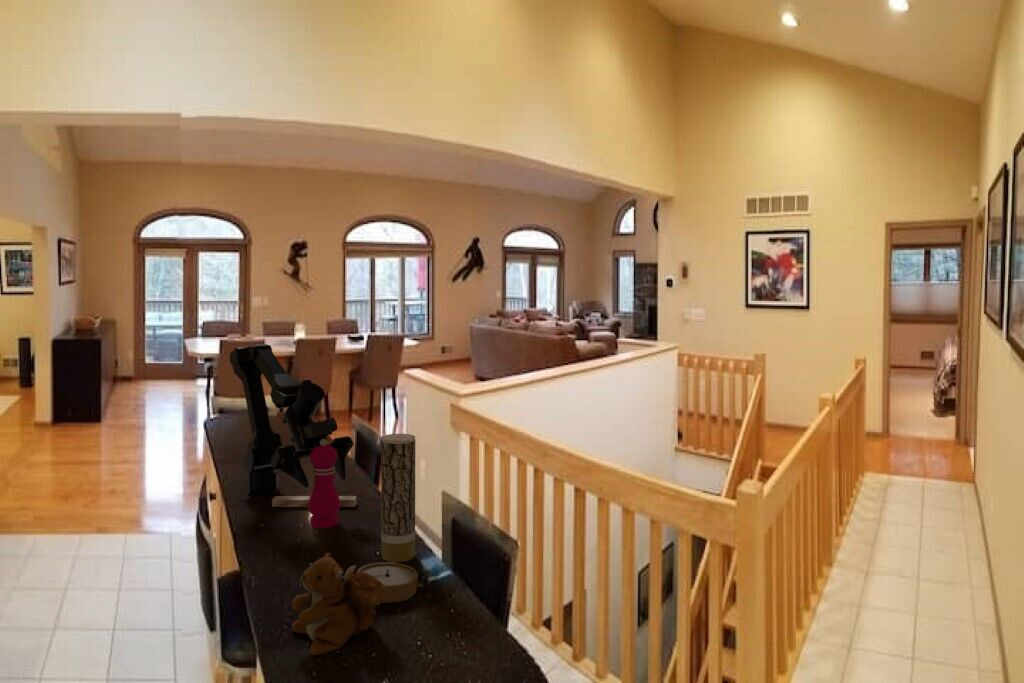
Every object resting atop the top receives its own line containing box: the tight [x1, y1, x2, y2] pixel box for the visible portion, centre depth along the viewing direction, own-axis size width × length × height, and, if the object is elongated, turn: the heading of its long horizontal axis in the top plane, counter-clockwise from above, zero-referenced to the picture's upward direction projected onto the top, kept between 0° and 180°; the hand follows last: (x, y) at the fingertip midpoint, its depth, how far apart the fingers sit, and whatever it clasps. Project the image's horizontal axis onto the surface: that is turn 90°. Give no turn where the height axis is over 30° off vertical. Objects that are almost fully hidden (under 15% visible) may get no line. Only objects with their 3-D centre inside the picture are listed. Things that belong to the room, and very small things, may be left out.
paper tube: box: [380, 433, 416, 564], centre depth 145 cm, size 7×7×25 cm
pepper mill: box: [307, 439, 341, 529], centre depth 164 cm, size 7×7×20 cm
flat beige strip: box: [271, 495, 357, 509], centre depth 177 cm, size 20×3×2 cm, turn 93°
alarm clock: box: [341, 561, 424, 604], centre depth 129 cm, size 11×5×15 cm
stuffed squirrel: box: [291, 552, 386, 656], centre depth 114 cm, size 10×14×13 cm
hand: (326, 482), depth 163 cm, fingers open, 9 cm apart
